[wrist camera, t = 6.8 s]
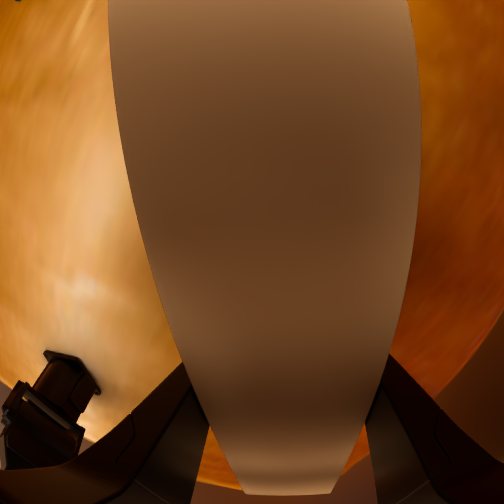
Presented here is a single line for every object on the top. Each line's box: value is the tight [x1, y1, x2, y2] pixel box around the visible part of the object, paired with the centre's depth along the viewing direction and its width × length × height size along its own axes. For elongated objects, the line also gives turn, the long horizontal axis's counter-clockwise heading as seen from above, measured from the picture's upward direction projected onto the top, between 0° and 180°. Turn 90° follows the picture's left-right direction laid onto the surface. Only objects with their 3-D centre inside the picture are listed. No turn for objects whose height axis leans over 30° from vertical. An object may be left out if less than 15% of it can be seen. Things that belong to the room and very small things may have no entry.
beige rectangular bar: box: [108, 0, 421, 495], centre depth 8 cm, size 20×4×4 cm, turn 6°
